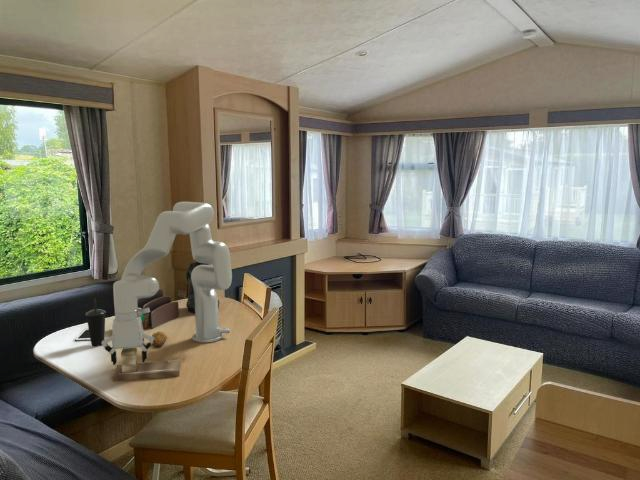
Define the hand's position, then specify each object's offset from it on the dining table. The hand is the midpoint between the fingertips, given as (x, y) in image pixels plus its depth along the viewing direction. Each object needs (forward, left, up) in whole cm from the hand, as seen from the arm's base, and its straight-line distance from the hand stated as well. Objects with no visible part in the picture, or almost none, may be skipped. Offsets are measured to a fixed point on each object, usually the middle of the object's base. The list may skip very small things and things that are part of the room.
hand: (129, 362), depth 176 cm
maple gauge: (0, 0, -3) cm, 3 cm away
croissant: (-7, -31, -5) cm, 32 cm away
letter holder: (-4, -60, -5) cm, 60 cm away
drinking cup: (+17, -34, -5) cm, 38 cm away
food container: (+4, -51, -5) cm, 51 cm away
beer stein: (-24, -76, -5) cm, 80 cm away
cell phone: (+23, -47, -5) cm, 53 cm away
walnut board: (-6, 0, -5) cm, 8 cm away
